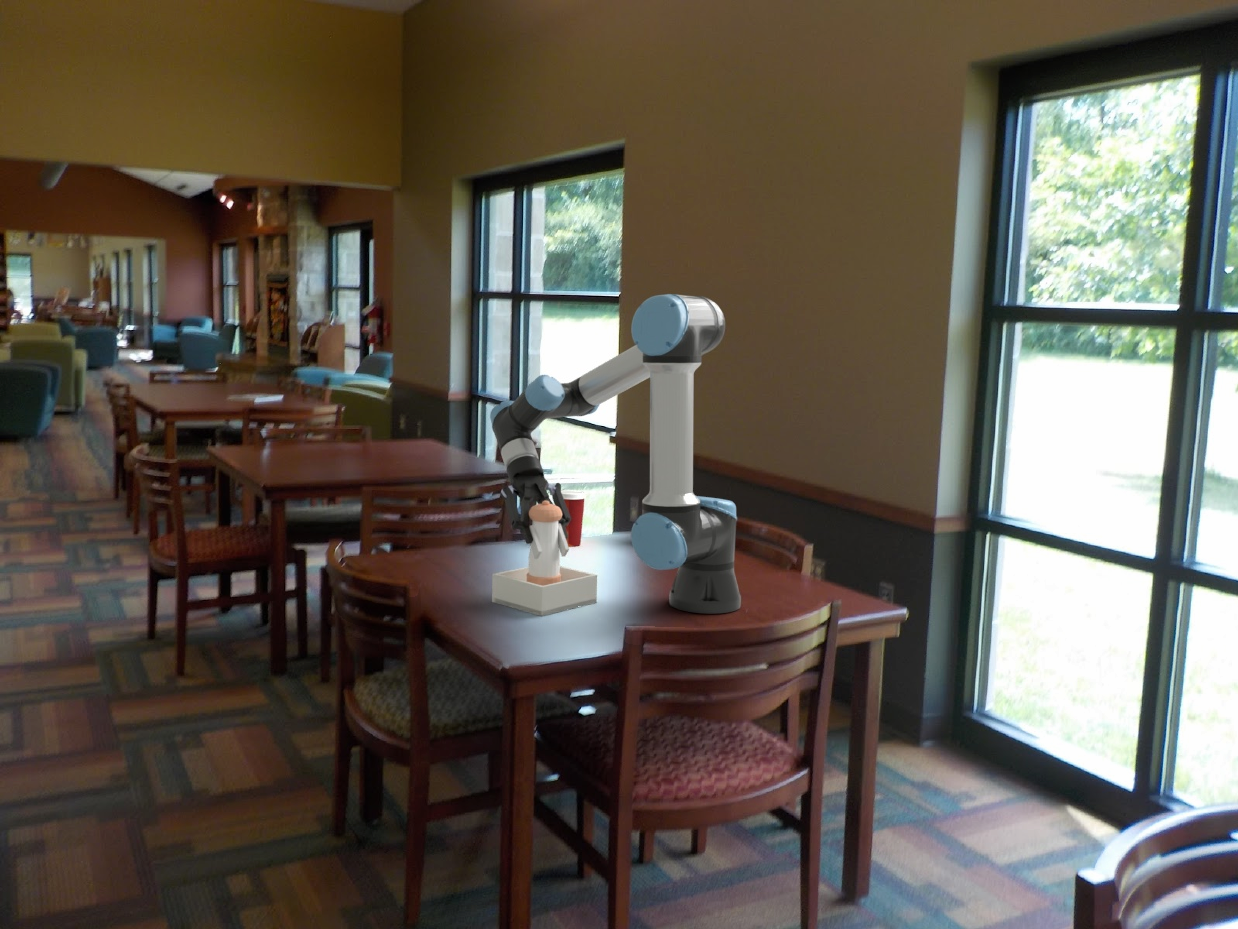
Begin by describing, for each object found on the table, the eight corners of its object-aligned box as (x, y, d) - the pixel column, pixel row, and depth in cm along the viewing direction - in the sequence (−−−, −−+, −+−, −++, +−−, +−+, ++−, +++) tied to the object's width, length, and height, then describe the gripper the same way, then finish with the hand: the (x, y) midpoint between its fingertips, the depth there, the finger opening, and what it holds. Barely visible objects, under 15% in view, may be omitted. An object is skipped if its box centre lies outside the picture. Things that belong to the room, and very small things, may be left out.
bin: (596, 602, 239) (597, 575, 239) (541, 616, 228) (542, 587, 227) (546, 589, 249) (547, 562, 249) (492, 601, 238) (492, 574, 237)
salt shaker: (559, 595, 235) (561, 504, 232) (524, 594, 235) (526, 503, 232) (562, 586, 242) (564, 498, 239) (528, 585, 242) (530, 497, 239)
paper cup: (586, 542, 301) (587, 490, 299) (582, 548, 293) (583, 495, 292) (557, 540, 302) (558, 489, 300) (552, 546, 294) (553, 493, 292)
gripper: (555, 473, 253) (586, 560, 241) (477, 476, 244) (505, 567, 232) (566, 452, 248) (598, 541, 236) (487, 455, 239) (515, 547, 227)
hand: (552, 553), depth 234 cm, fingers closed on salt shaker, 5 cm apart
